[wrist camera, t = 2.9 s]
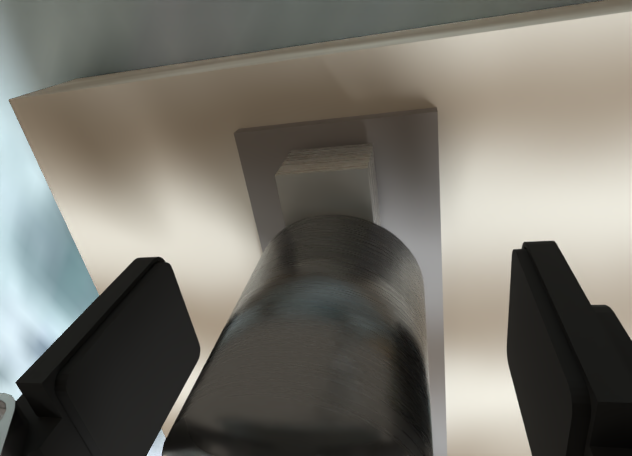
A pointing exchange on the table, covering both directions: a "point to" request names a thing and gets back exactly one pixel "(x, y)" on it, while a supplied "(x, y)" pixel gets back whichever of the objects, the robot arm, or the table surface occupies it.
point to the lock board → (391, 173)
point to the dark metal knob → (319, 331)
